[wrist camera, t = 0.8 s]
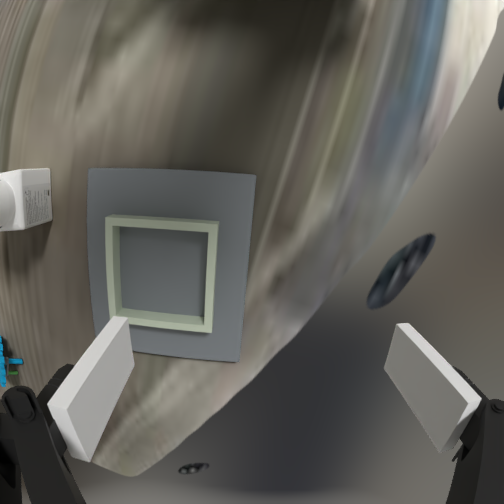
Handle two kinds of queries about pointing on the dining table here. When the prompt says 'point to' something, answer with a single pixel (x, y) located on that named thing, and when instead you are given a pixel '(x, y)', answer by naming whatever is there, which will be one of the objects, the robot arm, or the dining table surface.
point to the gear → (6, 365)
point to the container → (25, 198)
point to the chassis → (171, 257)
